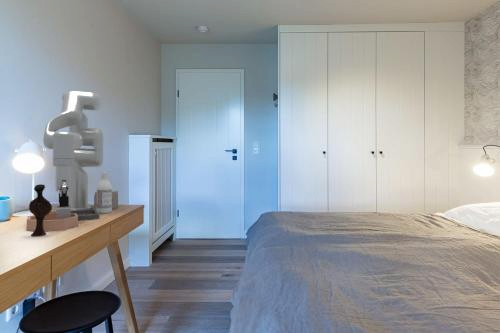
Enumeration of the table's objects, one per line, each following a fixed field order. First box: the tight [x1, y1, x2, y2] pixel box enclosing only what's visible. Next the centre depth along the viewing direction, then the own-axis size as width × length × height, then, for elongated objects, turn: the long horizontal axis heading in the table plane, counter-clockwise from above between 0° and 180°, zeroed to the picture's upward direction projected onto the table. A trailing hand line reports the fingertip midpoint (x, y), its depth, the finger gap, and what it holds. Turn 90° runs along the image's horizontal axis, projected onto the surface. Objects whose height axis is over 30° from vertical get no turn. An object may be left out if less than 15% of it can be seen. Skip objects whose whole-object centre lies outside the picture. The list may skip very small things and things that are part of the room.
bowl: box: [26, 213, 79, 233], centre depth 129 cm, size 17×17×4 cm
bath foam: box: [96, 171, 113, 214], centre depth 161 cm, size 7×7×20 cm
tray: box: [50, 208, 100, 221], centre depth 146 cm, size 15×20×2 cm
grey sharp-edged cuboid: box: [55, 207, 71, 220], centre depth 131 cm, size 4×5×6 cm
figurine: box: [28, 183, 53, 237], centre depth 115 cm, size 7×5×18 cm
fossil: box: [93, 190, 119, 211], centre depth 169 cm, size 12×4×10 cm, turn 147°
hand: (63, 204), depth 132 cm, fingers open, 9 cm apart
